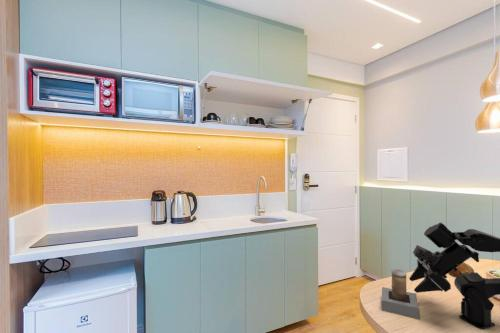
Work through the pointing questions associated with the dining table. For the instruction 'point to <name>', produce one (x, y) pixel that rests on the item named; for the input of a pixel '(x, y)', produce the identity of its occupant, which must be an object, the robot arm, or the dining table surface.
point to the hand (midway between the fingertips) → (412, 285)
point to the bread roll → (462, 270)
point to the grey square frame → (400, 304)
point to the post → (399, 285)
